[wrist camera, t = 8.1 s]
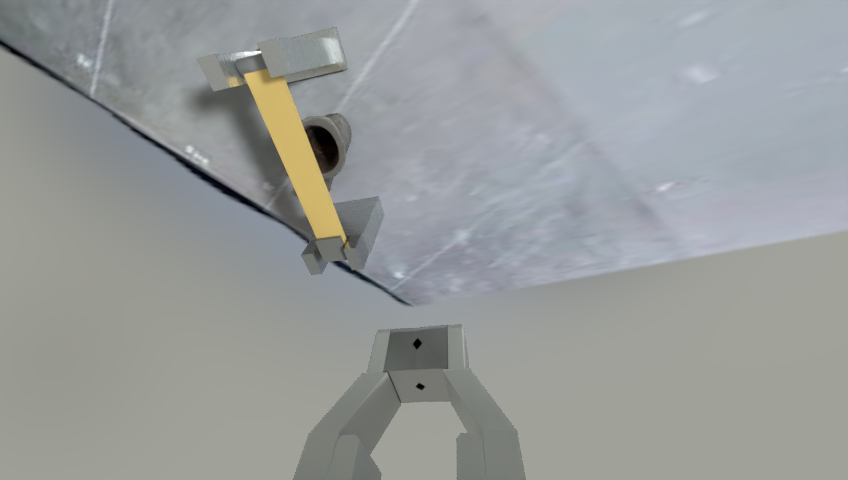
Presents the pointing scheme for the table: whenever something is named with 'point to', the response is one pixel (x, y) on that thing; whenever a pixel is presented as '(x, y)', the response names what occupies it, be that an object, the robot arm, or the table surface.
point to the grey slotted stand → (281, 59)
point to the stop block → (351, 233)
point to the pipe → (328, 143)
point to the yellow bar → (295, 154)
